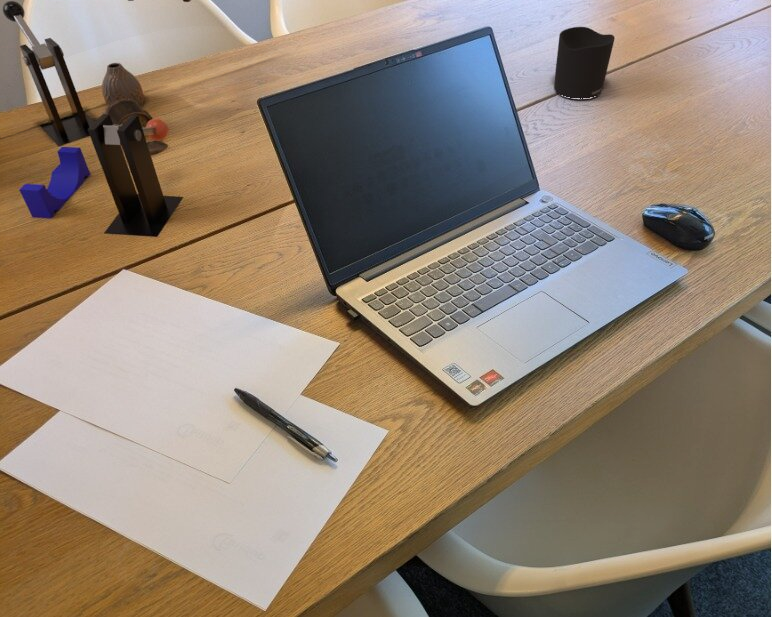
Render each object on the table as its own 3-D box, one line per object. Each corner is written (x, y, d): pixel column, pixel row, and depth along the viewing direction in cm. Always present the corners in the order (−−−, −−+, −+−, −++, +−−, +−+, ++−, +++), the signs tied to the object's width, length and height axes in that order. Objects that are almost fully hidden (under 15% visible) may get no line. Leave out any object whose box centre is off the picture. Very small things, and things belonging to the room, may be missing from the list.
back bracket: (42, 132, 118) (4, 43, 107) (86, 117, 121) (53, 30, 111) (61, 153, 112) (23, 61, 101) (106, 137, 115) (74, 47, 105)
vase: (112, 105, 125) (96, 59, 119) (149, 101, 125) (135, 55, 120) (107, 122, 120) (91, 75, 114) (146, 117, 120) (132, 71, 115)
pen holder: (557, 103, 119) (566, 48, 112) (546, 81, 126) (554, 27, 119) (609, 101, 119) (621, 45, 112) (595, 78, 126) (606, 25, 119)
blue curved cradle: (67, 179, 106) (53, 146, 101) (93, 181, 105) (80, 147, 101) (26, 223, 97) (9, 188, 93) (54, 225, 96) (38, 190, 92)
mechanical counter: (160, 94, 115) (98, 92, 111) (168, 118, 106) (100, 117, 102) (162, 134, 119) (102, 133, 115) (170, 161, 109) (105, 161, 106)
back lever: (2, 15, 111) (-4, -1, 108) (21, 10, 112) (16, -6, 109) (39, 72, 107) (35, 57, 105) (59, 67, 109) (55, 52, 106)
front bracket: (136, 201, 100) (102, 103, 90) (185, 204, 99) (157, 105, 89) (106, 240, 93) (65, 139, 82) (159, 244, 92) (125, 142, 81)
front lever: (153, 139, 99) (151, 117, 98) (173, 140, 99) (171, 118, 98) (101, 147, 86) (98, 122, 85) (124, 148, 86) (122, 123, 85)
